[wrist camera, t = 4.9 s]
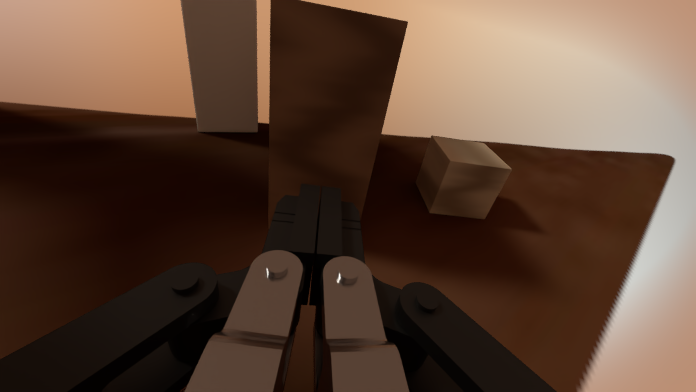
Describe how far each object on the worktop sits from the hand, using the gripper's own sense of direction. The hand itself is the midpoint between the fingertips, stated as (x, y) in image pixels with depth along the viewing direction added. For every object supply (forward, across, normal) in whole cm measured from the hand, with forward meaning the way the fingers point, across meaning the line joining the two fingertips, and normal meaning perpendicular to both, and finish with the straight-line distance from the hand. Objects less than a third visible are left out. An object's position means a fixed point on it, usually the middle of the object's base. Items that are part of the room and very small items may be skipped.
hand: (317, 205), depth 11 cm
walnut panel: (+13, 0, +7) cm, 15 cm away
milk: (+23, +11, +7) cm, 27 cm away
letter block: (+12, -12, +7) cm, 18 cm away
